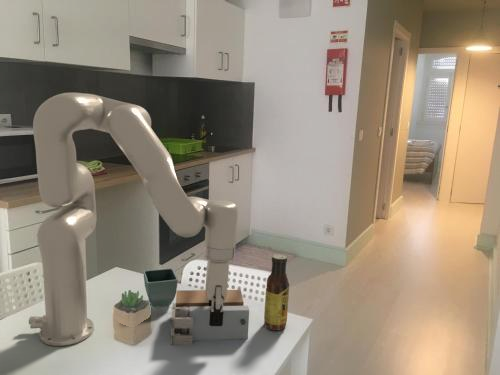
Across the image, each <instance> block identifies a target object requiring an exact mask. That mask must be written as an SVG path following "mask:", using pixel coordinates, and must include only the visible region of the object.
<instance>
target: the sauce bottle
mask: <svg viewBox="0 0 500 375" xmlns="http://www.w3.org/2000/svg"><path fill="white" fill-rule="evenodd" d="M287 262H288V256H286V255H284V254H281V253H280V254H278V253H277V254H276V253H275V254H273V255H272V256H271V272H270V274H269V275H268V276H267V278H266V288H265V298H264V299H265V300H264V301H265V302H264V313H263V314H264V315H263V316H264V318H263V321H264V322H263V323H264V324H263V325H264V326H265V327H266V328H267V329H269V330H271V331H278V332H279V331H281V330H283V329H285V328H286V326H287V322H288V310H289V309H288V308H289V298H290V297H289V294H290V284H289V280H288V276H287V273H286V272H287V270H286V269H287Z"/></svg>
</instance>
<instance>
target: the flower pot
mask: <svg viewBox="0 0 500 375" xmlns="http://www.w3.org/2000/svg"><path fill="white" fill-rule="evenodd" d="M143 282H144V289H145V292H146V295H147V298H148V301H150V302H149V304H150V303H151V304H150V306H151V307H152V308H160V307H161V308H162V307H166V306H167V307H169V306H171V305H172V304H173V302H174V300H175V299H176V294H177V291H178V282H179V278H178V277H177V275H176V273H175V271H174V269H173V268H171V267H170V268H161V269H152V270H151V269H150V270H143Z"/></svg>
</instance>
